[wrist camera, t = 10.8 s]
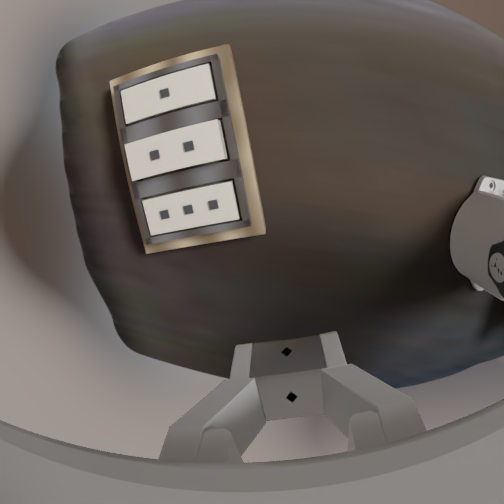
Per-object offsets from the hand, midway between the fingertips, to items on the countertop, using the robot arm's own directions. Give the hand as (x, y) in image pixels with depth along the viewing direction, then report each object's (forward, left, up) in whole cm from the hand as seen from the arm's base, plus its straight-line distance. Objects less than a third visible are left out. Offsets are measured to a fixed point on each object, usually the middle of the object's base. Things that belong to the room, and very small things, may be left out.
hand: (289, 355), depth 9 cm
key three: (+10, -1, -28) cm, 30 cm away
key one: (+10, -15, -28) cm, 34 cm away
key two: (+10, -8, -27) cm, 30 cm away
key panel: (+10, -8, -31) cm, 34 cm away
